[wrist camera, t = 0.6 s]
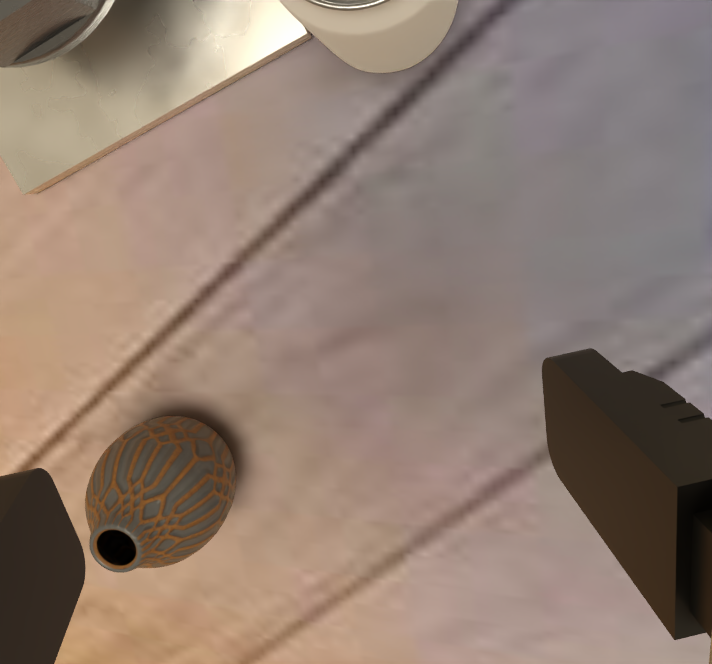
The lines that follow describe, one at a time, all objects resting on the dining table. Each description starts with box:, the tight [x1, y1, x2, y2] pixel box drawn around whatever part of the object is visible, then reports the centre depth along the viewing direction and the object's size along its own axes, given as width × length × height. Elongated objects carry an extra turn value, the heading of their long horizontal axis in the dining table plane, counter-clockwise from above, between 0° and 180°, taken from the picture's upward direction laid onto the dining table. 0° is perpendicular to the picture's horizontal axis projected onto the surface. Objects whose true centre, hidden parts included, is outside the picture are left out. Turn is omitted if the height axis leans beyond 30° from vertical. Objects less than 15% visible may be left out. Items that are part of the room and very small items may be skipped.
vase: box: [85, 416, 236, 572], centre depth 32 cm, size 7×7×9 cm
